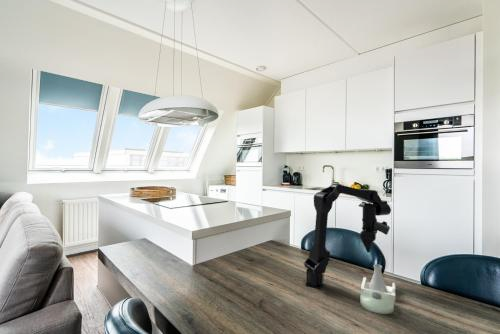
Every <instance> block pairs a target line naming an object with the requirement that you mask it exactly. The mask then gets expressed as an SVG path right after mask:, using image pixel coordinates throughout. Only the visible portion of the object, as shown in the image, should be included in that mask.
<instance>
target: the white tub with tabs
mask: <svg viewBox="0 0 500 334" xmlns="http://www.w3.org/2000/svg"><path fill="white" fill-rule="evenodd" d="M361 282H362V283H361V286H360V296H359V297H360V302H359V303H360V305H361V306H362V307H363V308H364V309H365V310H368V311H369V312H372V313H376V314H380V315H389V314H391V313H393V312H394V311H395V303H396V282H392V284H391V286H390V285H386V288H387V293H385V292H381V291H376V290H371V289H368V288H369V284H370V282H371V281H370V282H369V281H367V277H366V276H363V278H362V281H361Z"/></svg>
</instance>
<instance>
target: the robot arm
mask: <svg viewBox="0 0 500 334" xmlns="http://www.w3.org/2000/svg"><path fill="white" fill-rule="evenodd" d="M340 194H342V195H347V196H352V197H355V198H357V199H358V200H360V201H362V202H360V203H359V205H358V207H360V208H362V218H361V221H362V227H361V231H360V233H359V238H360V240H361V242H362V244H363V246H364V248H365V251H366V252H367V253H370V252H371V248H372V244H373V242H374V241H376V239H377V233H378V232H380V233H382V234H384V235H386V236H387V235H388V233H389V231H390V229H391V227H390V225H388V222H386V221H384V220H383V221H382V222H379V221H378V219H377V217H378V216H379V217H380V216H389V215H391V212H392V208H391V206H390V205H389V204H388V201H387V200H382V198H381V197H380V195H379V193H378V191H377V190H374V189H367V188H356V187H351V186H347V185H344V184H340V183H332V184H331V185H329V186H327V187H326V188H323V189H322V190H320V191H318V192H316V193H315V194H314V195H313V207H314V209H315V212H316V215H315V226H314V228H315V229H314V237H313V239H314V240H313V245H312V247H311V248H310V250H309V255H308V257H307V258H306V259H305V261H304V262H303V265H304V267H305V268H306V271H305V272H306V282H305V283H304V286H307V287H311V288H315V289H321V288H322V286H323V285H324V283H325V279H324V278H325V276H324V275H325V273H326V270H327V266H328V265H329V262H330V260H331V259H330V256H331V251H329V250H328V249H327V247H326V245H327V244H326V243H327V240H326V239H327V231H328V217H329V213H330V212H331V210H332V208H333V204H334V202H335V201H336V200H338V198H339V196H340Z"/></svg>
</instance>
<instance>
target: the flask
mask: <svg viewBox="0 0 500 334" xmlns="http://www.w3.org/2000/svg"><path fill="white" fill-rule="evenodd" d="M373 268H374V269H373V270H374V271H373V275H372V277H371V280H370V284H369V288H368V289H371V290H376V291H381V292H385V293H387V288H386V286H387V285H386V283H385V280H384V276H383V273H382V269H383V266H382V265H381V264H373Z"/></svg>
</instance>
